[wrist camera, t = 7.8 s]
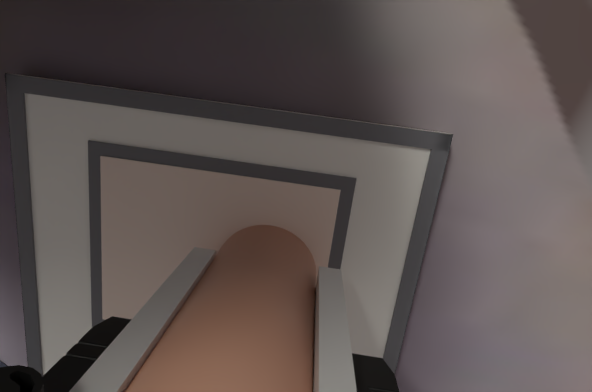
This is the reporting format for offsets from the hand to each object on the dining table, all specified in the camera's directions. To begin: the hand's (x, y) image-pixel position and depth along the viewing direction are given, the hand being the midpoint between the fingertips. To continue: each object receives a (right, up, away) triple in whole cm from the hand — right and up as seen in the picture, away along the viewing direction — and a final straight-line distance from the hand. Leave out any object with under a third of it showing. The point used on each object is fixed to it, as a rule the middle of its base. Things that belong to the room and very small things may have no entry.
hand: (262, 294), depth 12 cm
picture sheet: (-3, -4, +4) cm, 6 cm away
